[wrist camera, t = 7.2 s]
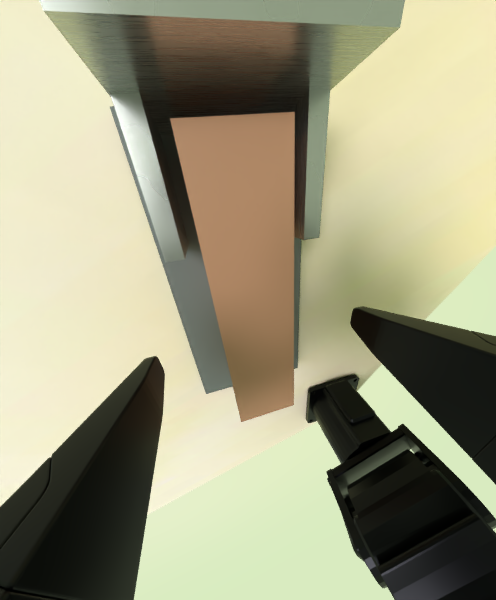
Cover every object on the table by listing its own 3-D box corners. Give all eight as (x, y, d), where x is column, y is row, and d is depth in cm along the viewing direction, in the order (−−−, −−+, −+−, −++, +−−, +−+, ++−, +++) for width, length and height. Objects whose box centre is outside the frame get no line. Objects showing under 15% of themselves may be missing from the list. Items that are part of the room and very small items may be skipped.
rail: (274, 364, 17) (293, 405, 14) (232, 376, 16) (241, 421, 13) (259, 147, 9) (294, 111, 6) (181, 154, 9) (170, 118, 5)
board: (293, 361, 19) (297, 367, 18) (205, 386, 17) (206, 394, 17) (297, 108, 10) (305, 101, 9) (117, 115, 8) (109, 106, 8)
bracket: (288, 230, 12) (360, 246, 7) (173, 247, 11) (150, 284, 5) (288, 101, 9) (413, -49, 4) (132, 105, 8) (-2, -105, 3)
